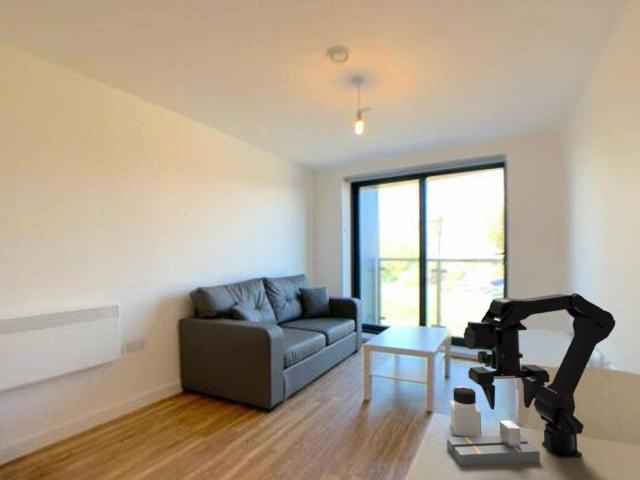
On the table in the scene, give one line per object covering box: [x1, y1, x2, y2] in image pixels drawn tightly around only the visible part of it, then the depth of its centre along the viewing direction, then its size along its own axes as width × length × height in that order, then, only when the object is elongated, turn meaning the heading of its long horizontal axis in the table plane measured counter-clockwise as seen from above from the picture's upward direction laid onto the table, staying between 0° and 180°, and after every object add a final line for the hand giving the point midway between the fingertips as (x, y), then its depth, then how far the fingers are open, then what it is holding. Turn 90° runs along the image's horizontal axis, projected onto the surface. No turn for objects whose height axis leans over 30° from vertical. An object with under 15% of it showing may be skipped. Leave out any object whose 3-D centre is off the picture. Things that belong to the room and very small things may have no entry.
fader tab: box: [499, 420, 521, 446], centre depth 91 cm, size 3×4×6 cm
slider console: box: [446, 434, 541, 467], centre depth 91 cm, size 20×8×3 cm, turn 93°
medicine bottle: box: [449, 386, 482, 437], centre depth 103 cm, size 7×7×12 cm
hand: (509, 408), depth 91 cm, fingers open, 9 cm apart
